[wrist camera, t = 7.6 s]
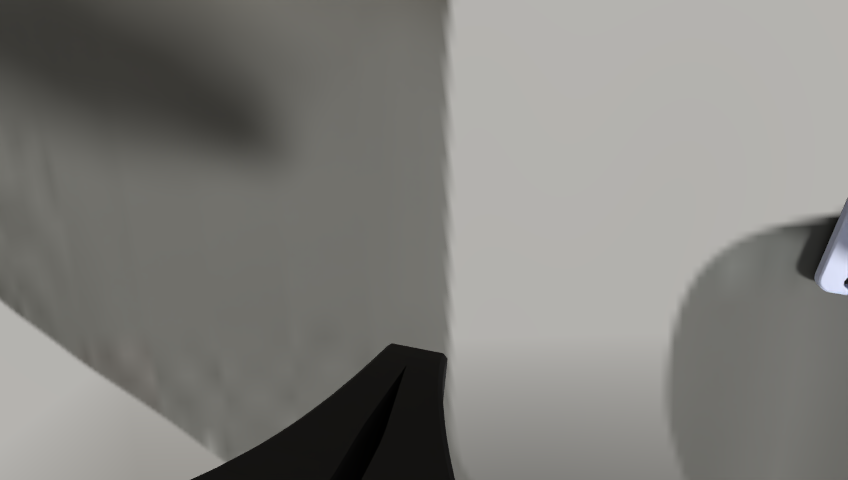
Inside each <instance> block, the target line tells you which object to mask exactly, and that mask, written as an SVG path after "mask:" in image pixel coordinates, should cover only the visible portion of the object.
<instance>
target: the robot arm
mask: <svg viewBox="0 0 848 480" xmlns="http://www.w3.org/2000/svg"><path fill="white" fill-rule="evenodd" d="M847 278H848V198H847V201H846V203H845V205H844V208H843V210H842V212H841V215H840V217H839V219H838V222H837V224H836V226H835V229H834V231H833V233H832V236H831V238H830V240H829V242H828V245H827V247H826V249H825V252H824V254H823V256H822V259H821V261H820V263H819V266H818V268H817V270H816V273H815V278H814V279H815V281H816V283H817V284H818V285H819V286H820V287H821V288H822V289H823V290H824V291H827V292H830V293H837V294H843V295H848V284H844V281H845V280H846V279H847ZM446 368H447V357H446V356H445V355H444V354H443V353H439V352H433V351H428V350H423V349H418V348H413V347H408V346H403V345H397V344H390V345H388V346H387V347H386V348H385V349H384V350H383V351H382V352H381V353H379V354H378V355H377V356H376V357H375V358H374V359H373V360H372V361H371V362H370V363H369V364H368V365H366V366H365V367H364V368H363V369H362V370H361V371H360V372H359V373H358V374H356V375H355V376H354V377H353V378H352V379H351V380H349V381H348V382H347V383H346V384H345V385H343V386H342V387H341V388H340V389H339V390H337V391H336V392H335V393H334V394H332V395H331V396H330V397H329V398H327V399H326V400H325V401H323V402H322V403H321V404H319V405H318V406H317V407H315V408H314V409H313V410H311V411H310V412H309V413H307V414H306V415H305V416H303V417H302V418H300V419H299V420H298V421H296V422H295V423H293V424H292V425H290V426H289V427H287V428H286V429H284V430H283V431H281V432H280V433H278V434H276V435H275V436H273V437H271V438H270V439H268V440H267V441H265V442H263V443H262V444H260V445H258V446H256V447H255V448H253V449H251V450H249V451H247V452H246V453H244V454H242V455H240V456H238V457H236V458H234V459H232V460H230V461H228V462H226V463H225V464H223V465H221V466H219V467H217V468H215V469H213V470H211V471H209V472H206V473H204V474H202V475H200V476H198V477H196V478H193V479H191V480H455V478H454V473H453V469H452V464H451V459H450V454H449V448H448V442H447V436H446V429H445V420H444V408H443V397H444V387H445V378H446Z"/></svg>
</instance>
